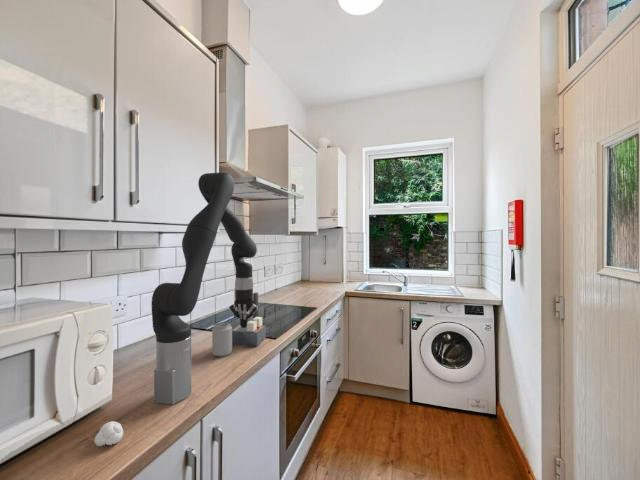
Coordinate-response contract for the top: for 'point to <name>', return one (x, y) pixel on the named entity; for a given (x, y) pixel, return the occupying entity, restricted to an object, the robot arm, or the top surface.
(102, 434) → the microfossil shell
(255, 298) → the post
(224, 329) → the can
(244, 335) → the grey storage bin
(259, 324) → the toggle far
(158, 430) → the top surface
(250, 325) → the toggle near
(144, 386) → the top surface
